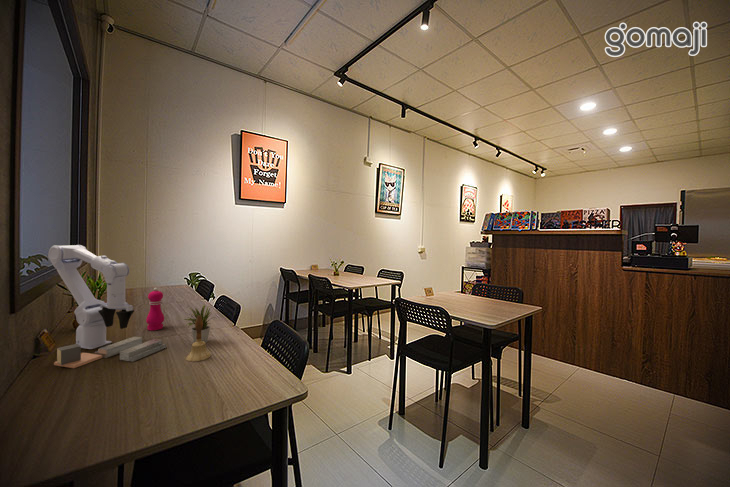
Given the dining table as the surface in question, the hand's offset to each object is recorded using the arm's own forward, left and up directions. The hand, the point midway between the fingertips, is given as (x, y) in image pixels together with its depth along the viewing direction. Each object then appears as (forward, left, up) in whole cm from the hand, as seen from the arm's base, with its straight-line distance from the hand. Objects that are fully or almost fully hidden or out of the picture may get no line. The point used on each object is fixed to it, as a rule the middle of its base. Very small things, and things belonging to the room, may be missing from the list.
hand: (116, 327), depth 120 cm
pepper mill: (-7, +24, -9) cm, 26 cm away
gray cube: (-1, -16, -7) cm, 17 cm away
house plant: (+25, +16, -9) cm, 31 cm away
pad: (0, -13, -8) cm, 16 cm away
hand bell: (+37, +2, -9) cm, 38 cm away
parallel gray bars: (+9, -1, -8) cm, 13 cm away
